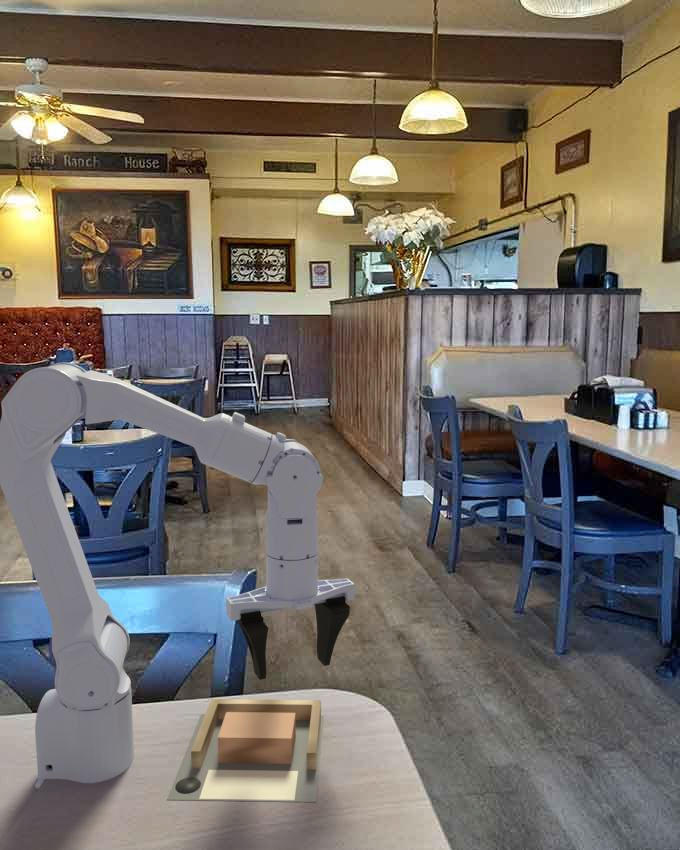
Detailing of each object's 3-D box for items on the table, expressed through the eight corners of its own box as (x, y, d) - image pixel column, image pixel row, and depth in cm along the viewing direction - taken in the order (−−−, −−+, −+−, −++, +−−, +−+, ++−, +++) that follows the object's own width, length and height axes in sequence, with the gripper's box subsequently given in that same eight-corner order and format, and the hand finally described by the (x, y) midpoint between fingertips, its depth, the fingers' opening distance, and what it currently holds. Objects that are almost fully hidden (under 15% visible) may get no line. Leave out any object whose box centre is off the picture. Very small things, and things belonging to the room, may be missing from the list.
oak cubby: (191, 768, 75) (190, 751, 75) (211, 714, 85) (211, 699, 85) (316, 770, 75) (315, 752, 74) (321, 715, 85) (321, 700, 85)
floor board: (167, 805, 70) (167, 799, 70) (201, 718, 85) (201, 714, 85) (316, 807, 70) (316, 801, 70) (323, 720, 85) (323, 715, 85)
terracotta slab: (218, 762, 76) (217, 737, 75) (226, 736, 81) (226, 711, 80) (291, 764, 76) (291, 738, 75) (295, 737, 81) (295, 712, 80)
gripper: (238, 573, 70) (240, 699, 72) (367, 554, 76) (365, 671, 78) (220, 552, 76) (222, 668, 78) (340, 536, 82) (339, 645, 84)
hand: (292, 668), depth 79 cm, fingers open, 7 cm apart
